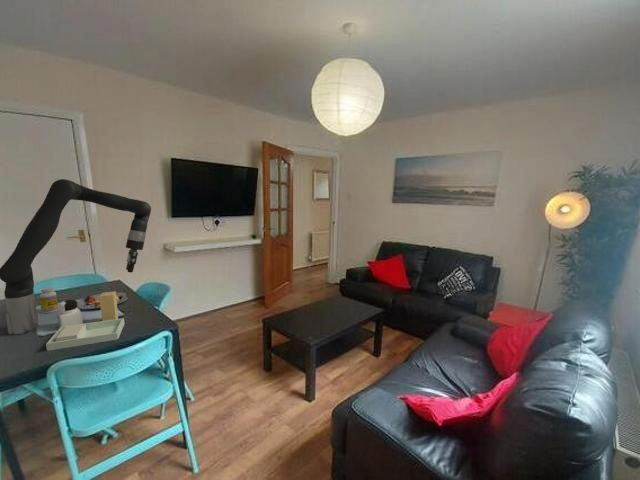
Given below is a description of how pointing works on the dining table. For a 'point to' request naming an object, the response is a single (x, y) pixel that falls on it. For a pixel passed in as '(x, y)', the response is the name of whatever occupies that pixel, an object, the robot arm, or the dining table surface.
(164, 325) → the dining table surface
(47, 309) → the supplement bottle
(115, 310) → the juice carton
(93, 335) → the tray
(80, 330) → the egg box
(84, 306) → the food plate
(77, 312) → the container
